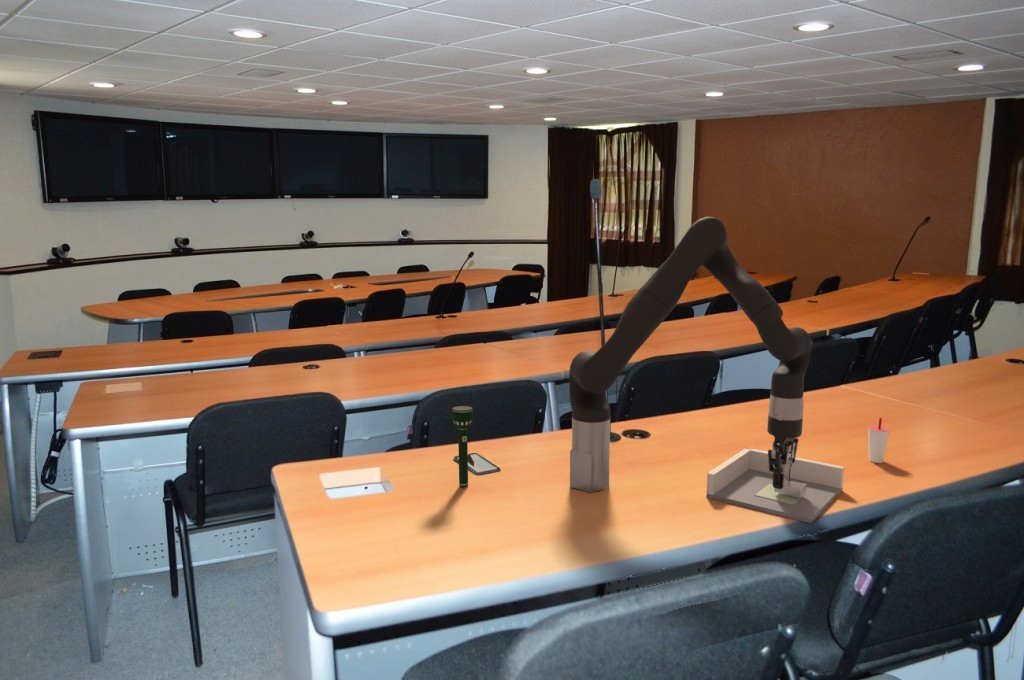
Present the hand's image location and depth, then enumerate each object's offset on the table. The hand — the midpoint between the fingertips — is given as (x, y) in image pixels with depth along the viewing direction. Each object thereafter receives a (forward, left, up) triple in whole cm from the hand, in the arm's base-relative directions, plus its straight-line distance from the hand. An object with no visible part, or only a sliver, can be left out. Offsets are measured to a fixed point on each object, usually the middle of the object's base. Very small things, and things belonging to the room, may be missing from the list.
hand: (781, 484), depth 176 cm
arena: (+2, +2, -3) cm, 4 cm away
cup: (+42, -11, -4) cm, 44 cm away
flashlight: (-40, +64, -4) cm, 75 cm away
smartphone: (-26, +72, -4) cm, 77 cm away
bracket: (0, -2, -1) cm, 2 cm away
